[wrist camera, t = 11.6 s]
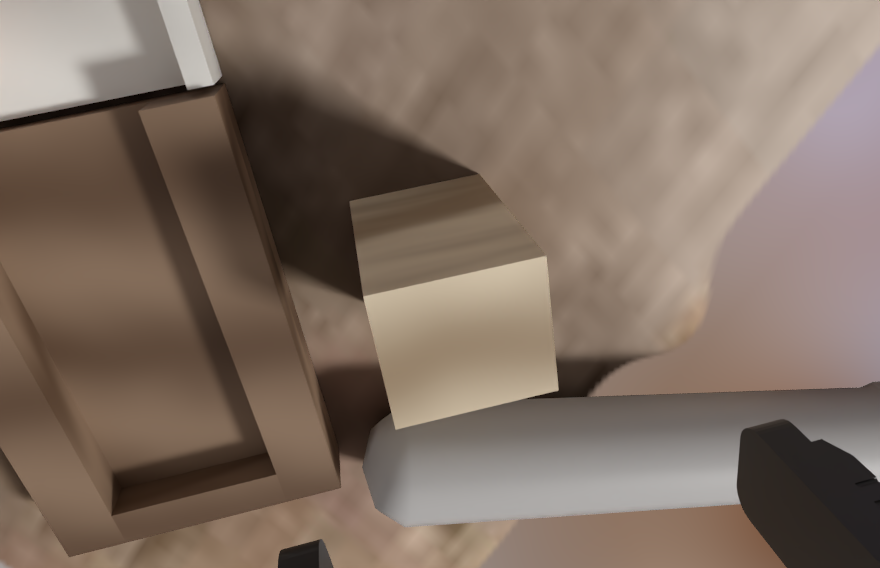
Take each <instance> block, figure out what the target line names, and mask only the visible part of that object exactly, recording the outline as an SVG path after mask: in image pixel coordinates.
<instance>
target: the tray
mask: <svg viewBox="0 0 880 568" xmlns="http://www.w3.org/2000/svg"><path fill="white" fill-rule="evenodd" d="M221 77H222V73H221V70H220V66H219V63H218V60H217V57H216V54H215V50H214V47H213V44H212V41H211V38H210V34H209V31H208V28H207V25H206V22H205V18H204V15H203V12H202V9H201V6H200V2H199V0H0V122H1V121H6V120H11V119H16V118H21V117H26V116H31V115H36V114H41V113H46V112H51V111H56V110H61V109H66V108H71V107H76V106H81V105H86V104H91V103H96V102H101V101H106V100H111V99H116V98H121V97H126V96H131V95H136V94H141V93H146V92H151V91H156V90H161V89H166V88H171V87H176V86H181V85H186V87H187V90H191V89H196V88H201V87H206V86H211V85H214V84H215V83H216V82H217V81H218V80H219V79H220V78H221Z"/></svg>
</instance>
